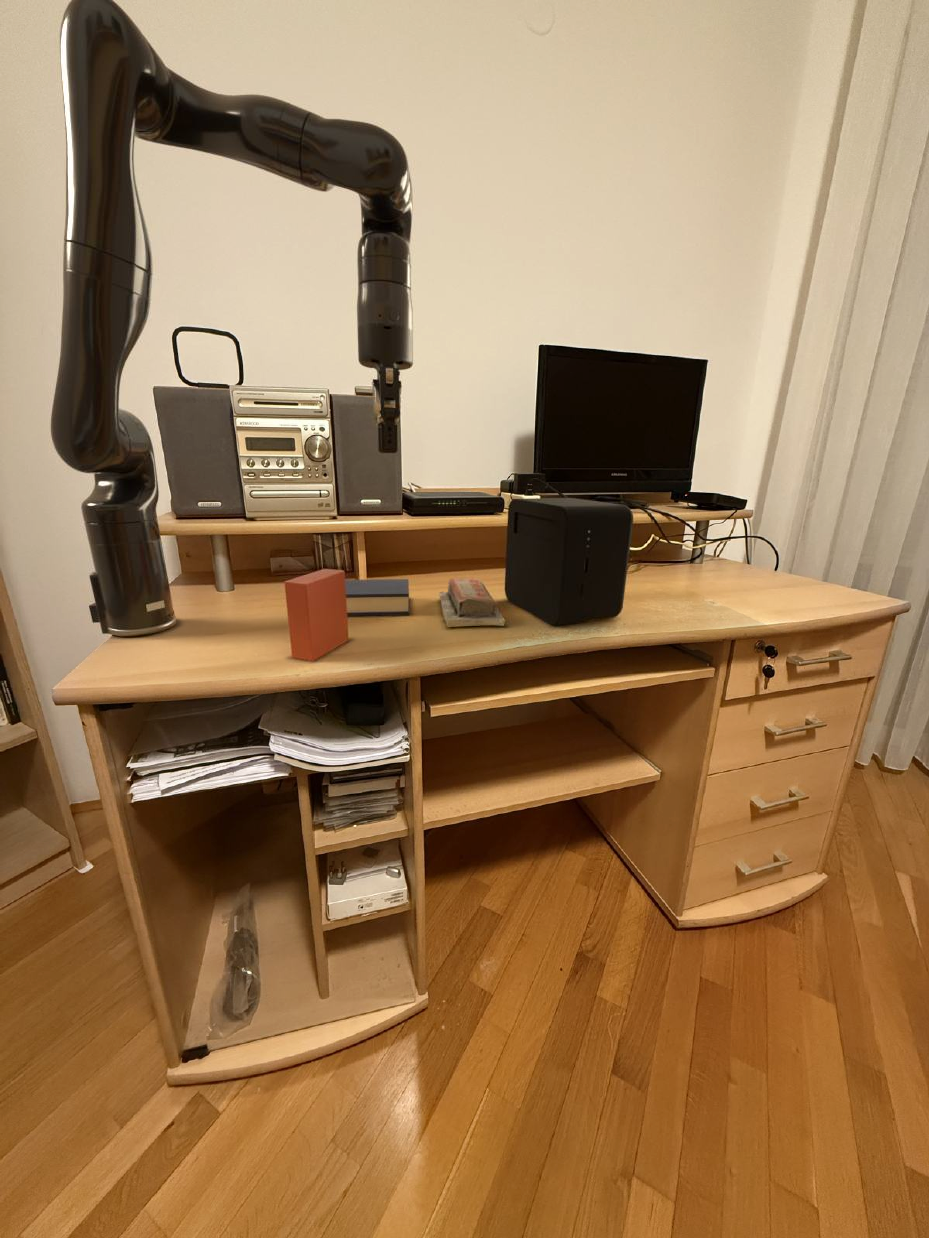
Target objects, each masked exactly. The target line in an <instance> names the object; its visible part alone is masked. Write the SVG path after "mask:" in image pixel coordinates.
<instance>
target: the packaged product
mask: <svg viewBox="0 0 929 1238" xmlns="http://www.w3.org/2000/svg"><path fill="white" fill-rule="evenodd" d="M438 595H439V600H440V603H441V610H442V611H441V612H442V615H443V618H444V621H445V623H446V626H447V628H456V627H472V626H473V627H475V626H476V627H477V626H480V627H481V626H499V627H505V622H506V620H505V618H504V616H503V614H501V612H500V610H499V609H498V606H497V603H496V602H495V600H494V598H493V597H492V595H491V594H490V592H489V590H488V589H487V588H486V586H485V584H484V583H483V581H482V580H481V579H479V578H476V577H453V578H449V581H448V585H447V591H446V592H444V591H440V592H439V593H438Z"/></svg>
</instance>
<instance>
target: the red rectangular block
mask: <svg viewBox="0 0 929 1238" xmlns="http://www.w3.org/2000/svg"><path fill="white" fill-rule="evenodd" d="M345 580H346V573H345V570H342V569H333V568H322V569H319V570H315V571H313V572H310V573H307V574H304V575H300V576H297V577H294V578H291V579H288V580H285V581H284V591H285V602H286V610H287V621H288V632H289V642H290V651H291V658H292V659H298V660H304V661H309V662H314V661H316V660H317V659H319V658H321V657H322V656H325V655H326V654H328V653H329V652H332V651H333V650H335V649H336V648H338V647H339V646H341V645H344V644H345V643H346V642H348V641H349V640H350V638H349V623H348V616H347V604H346V587H345Z"/></svg>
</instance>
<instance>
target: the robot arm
mask: <svg viewBox="0 0 929 1238" xmlns="http://www.w3.org/2000/svg"><path fill="white" fill-rule="evenodd" d="M59 61H60V63H59V64H60V75H61V76H60V77H61V87H62V98H63V101H62V102H63V111H64V127H65V217H64V218H65V220H64V233H63V241H64V242H63V253H62V254H63V255H62V257H63V260H62V315H61V316H62V317H61V329H60V330H61V331H60V332H61V333H60V334H61V335H60V353H59V362H58V369H57V377H56V382H55V389H54V394H53V401H52V407H51V414H50V437H51V441H52V444H53V447H54V450H55V452H56V453H57V455H58V457H60V460H62V461H63V462H64V463H65V464H66V465H67V466H68V467H70V468H72V469H73V470H75V471H77V472H79V473H84V474H91V475H92V474H93V479H94V486H93V489H92V492H91V493H90V494H89V496H88V497H87V498H85V499H84V500H83V501H82V502H81V508H80V509H81V515H82V519H83V521H84V522H83V523H84V527H85V528H84V529H85V533H86V536H87V541H88V545H89V550H90V553H91V559H92V563H93V568H94V571H93V572H91V573H89V581H90V586H91V590H92V595H93V599H94V603H91V604H89V605H88V609H89V613H90V618H91V621H92V623H93V624H94V623H99V625H100V629H101V634H102V635H105V634H106V635H107V634H108V635H111V636H115V637H139V636H145V635H146V636H147V635H151V634H156V633H160V632H163V631H166V630H168V629H171V628H172V627H174V626H175V625H176V624H177V618H176V615H175V609H174V604H173V599H172V593H171V587H170V582H169V577H168V571H167V563H166V559H165V554H164V553H165V552H164V547H163V543H162V539H161V538H162V537H161V531H160V526H159V520H158V514H157V505H158V502H159V496H160V491H159V482H158V474H157V465H156V459H155V451H154V446H153V441H152V439H151V436H150V433H149V431H148V429H147V427H146V426H145V424H144V423H143V421H141V420H140V418H139V417H138V416H136V415H135V414H134V413H132V412H130V411H128V410H126V409H122V408H120V388H121V387H120V386H121V379H122V373H123V372H124V371H123V370H124V368H125V365H126V362H127V360H128V358H129V356H130V354H131V353H132V351H133V350H134V347H135V346H136V344H137V343H138V340H139V339H140V337H141V335H142V333H143V331H144V329H145V326H146V324H147V322H148V319H149V315H150V309H151V301H152V287H153V271H154V270H153V267H154V265H153V252H152V246H151V242H150V235H149V231H148V227H147V223H146V220H145V219H146V218H145V215H144V212H143V211H144V210H143V208H142V205H141V200H140V195H139V190H138V186H137V179H136V173H135V172H136V171H135V141H136V139H139V140H142V141H145V142H150V143H152V144H153V143H155V144H159V145H163V146H170V147H176V148H181V149H188V150H194V151H197V152H200V153H201V152H202V153H206V154H210V155H214V156H218V157H222V158H225V159H230V160H233V161H236V162H240V163H241V164H245V165H248V166H251V167H255V168H257V169H260V170H262V171H265V172H266V173H267V172H268V173H269V174H273V175H275V176H278V177H280V178H283V179H285V180H287V181H290V182H292V183H294V184H295V183H296V184H297V185H301V186H303V187H306V188H308V189H311V190H314V191H317V192H322V193H327V192H330V191H331V190H332V189H334V188H335V187H338V188H341V189H345V190H348V191H352V192H354V193H356V194H357V195H358V197H359V203H360V204H359V205H360V216H361V219H360V220H361V236H360V237H359V240H358V242H357V251H356V252H357V253H356V265H357V266H356V267H357V268H356V269H357V298H356V326H357V328H356V329H357V354H358V356H357V357H358V359H357V360H358V363H359V365H361V366H362V367H365V368H368V369H374V370H376V379H375V378H373V379H372V380H371V394H372V397H373V413H374V414H375V417H374V419H375V424H376V427H377V444H378V445H377V446H378V447H377V448H378V449H377V450H378V452H379V453H381V454H397V452H398V449H399V447H398V424H399V421H400V416H401V408H402V407H401V406H402V397H401V395H402V387H403V386H402V381H401V380H400V376H401V371H404V370H408V369H409V370H410V368H412V367H413V365H414V308H413V299H412V260H411V259H412V258H411V248H410V247H411V238H412V237H411V236H412V224H413V223H412V222H413V185H412V179H411V171H410V166H409V161H408V157H407V154H406V151H405V149H404V147H403V145H402V144H401V142H400V141H399V140H398V139H397V138H396V137H395V136H394V135H393V134H391V133H390V132H389V131H388V130H386V129H384V128H382V127H381V126H379V125H376V124H373V123H369V122H365V121H359V120H351V119H343V118H325V117H323V116H321V115H319V114H317V113H314V112H312V111H310V110H307V109H304V108H302V107H299V106H297V105H294V104H292V103H290V102H288V101H285V100H282V99H279V98H276V97H272V96H269V95H263V94H235V95H232V94H222V93H217V92H214V91H211V90H208V89H205V88H203V87H202V86H198V85H197V84H195V83H193V82H191V81H190V80H188V79H187V78H185V77H183V76H182V75H180V74H178V73H176V72H175V71H174V70H172V69H170V68H169V67H168V66H166V65H165V63H164V62H163V60H162V58H161V57H160V55H159V54H158V52H157V51H156V50H155V48H154V47H153V46H152V44H151V43H150V42H149V41H148V39H147V38H146V36H145V35H144V34H143V32H142V31H141V29H140V27H138V25H137V24H136V23H135V22H134V21H133V19H132V18H131V16H129V15H128V13H126V11H125V10H124V9H123V8H122V7H121V6H120V5H119V4H118V3H117V2H116V1H115V0H70V1H69V2H68V4H67V6H66V8H65V9H64V12H63V16H62V20H61V23H60V30H59Z"/></svg>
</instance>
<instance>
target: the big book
mask: <svg viewBox="0 0 929 1238" xmlns="http://www.w3.org/2000/svg"><path fill="white" fill-rule="evenodd" d="M409 583H410V582H409V579H408V578H401V579H400V578H397V579H395V578H394V579H392V578H391V579H390V578H389V579H345V587H346V604H347V617H375V616H379V617H380V616H381V617H383V616H410V587H409Z"/></svg>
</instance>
